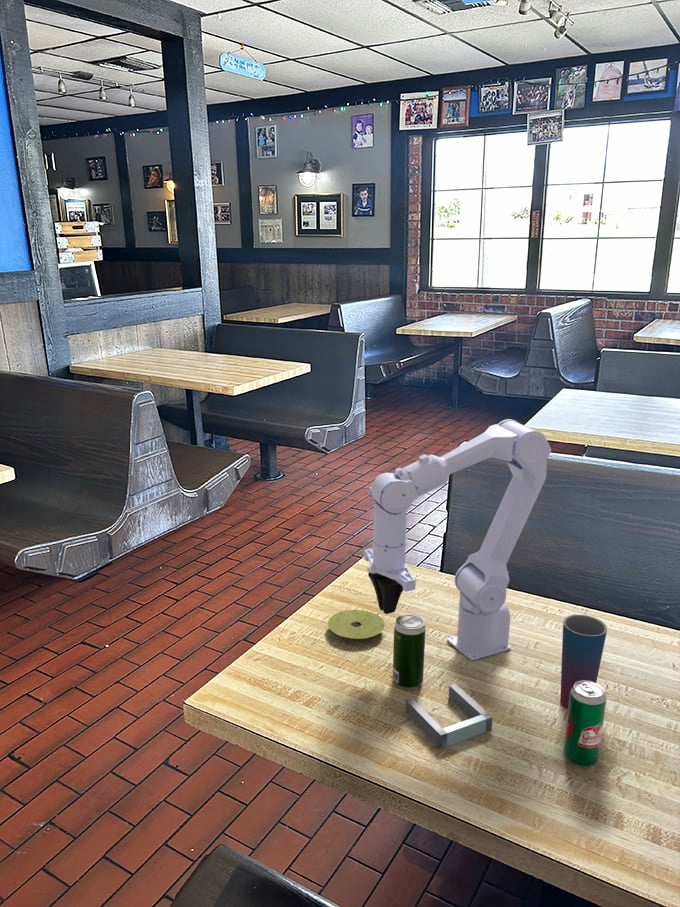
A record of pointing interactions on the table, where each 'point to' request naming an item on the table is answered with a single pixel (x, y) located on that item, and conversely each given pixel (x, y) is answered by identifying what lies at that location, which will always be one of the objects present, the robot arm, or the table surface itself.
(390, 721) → the table surface
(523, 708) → the table surface
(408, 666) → the beer can
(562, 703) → the cup
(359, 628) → the green disc with hole
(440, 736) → the dock
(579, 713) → the soda can
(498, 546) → the robot arm
